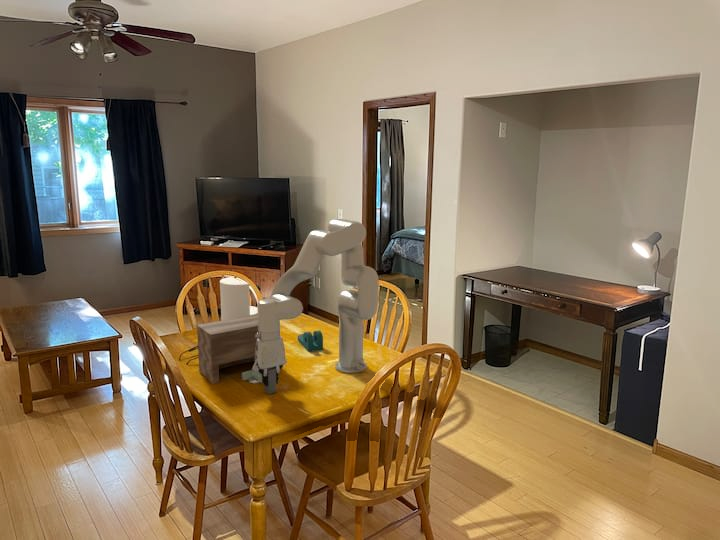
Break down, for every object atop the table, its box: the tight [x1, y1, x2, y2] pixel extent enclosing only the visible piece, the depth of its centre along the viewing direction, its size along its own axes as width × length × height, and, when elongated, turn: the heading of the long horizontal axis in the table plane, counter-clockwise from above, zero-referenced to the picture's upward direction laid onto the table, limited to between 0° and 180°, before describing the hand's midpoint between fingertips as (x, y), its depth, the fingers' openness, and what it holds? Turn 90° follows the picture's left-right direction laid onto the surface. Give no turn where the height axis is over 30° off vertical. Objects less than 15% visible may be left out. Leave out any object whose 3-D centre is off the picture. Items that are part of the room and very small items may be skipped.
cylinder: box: [219, 276, 258, 321], centre depth 243 cm, size 17×17×28 cm
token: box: [248, 376, 262, 385], centre depth 202 cm, size 5×5×1 cm
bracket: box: [297, 330, 324, 353], centre depth 241 cm, size 18×7×8 cm, turn 24°
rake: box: [241, 367, 277, 395], centre depth 197 cm, size 17×8×9 cm, turn 36°
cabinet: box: [196, 314, 258, 385], centre depth 210 cm, size 14×28×19 cm, turn 126°
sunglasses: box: [178, 345, 199, 365], centre depth 223 cm, size 11×12×5 cm
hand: (270, 383), depth 192 cm, fingers closed on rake, 3 cm apart
